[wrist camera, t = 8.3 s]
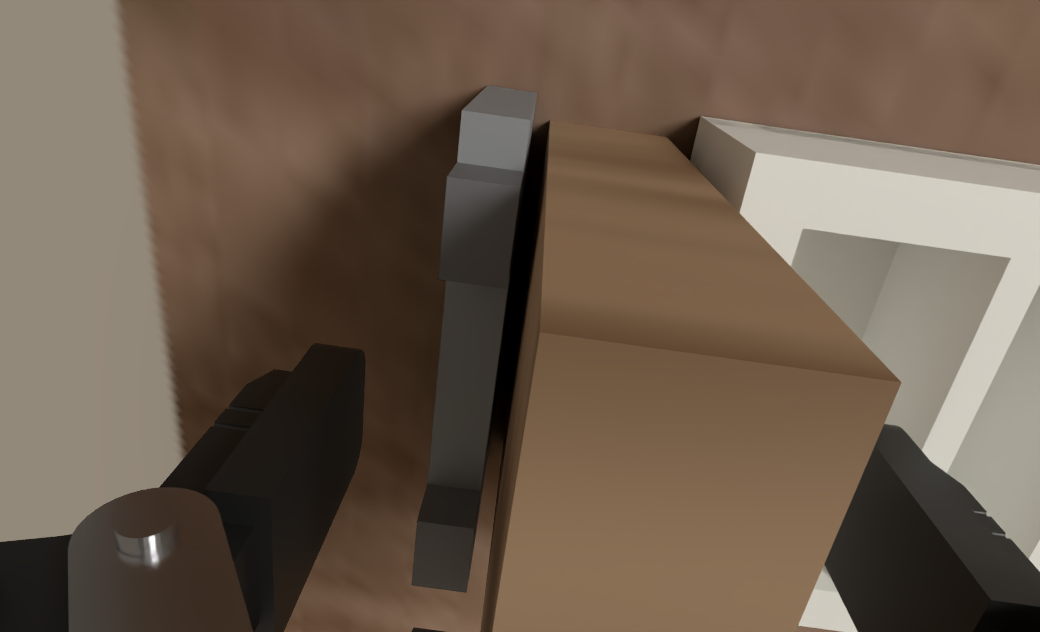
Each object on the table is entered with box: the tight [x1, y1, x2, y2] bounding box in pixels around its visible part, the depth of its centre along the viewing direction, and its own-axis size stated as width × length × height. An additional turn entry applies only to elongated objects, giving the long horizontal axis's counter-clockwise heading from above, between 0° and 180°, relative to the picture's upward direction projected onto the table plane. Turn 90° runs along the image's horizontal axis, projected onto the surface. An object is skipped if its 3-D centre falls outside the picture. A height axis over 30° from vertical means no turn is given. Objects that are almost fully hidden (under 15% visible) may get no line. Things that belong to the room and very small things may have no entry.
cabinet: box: [412, 86, 1040, 632], centre depth 13 cm, size 9×12×5 cm
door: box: [412, 121, 902, 632], centre depth 11 cm, size 8×3×10 cm, turn 173°
